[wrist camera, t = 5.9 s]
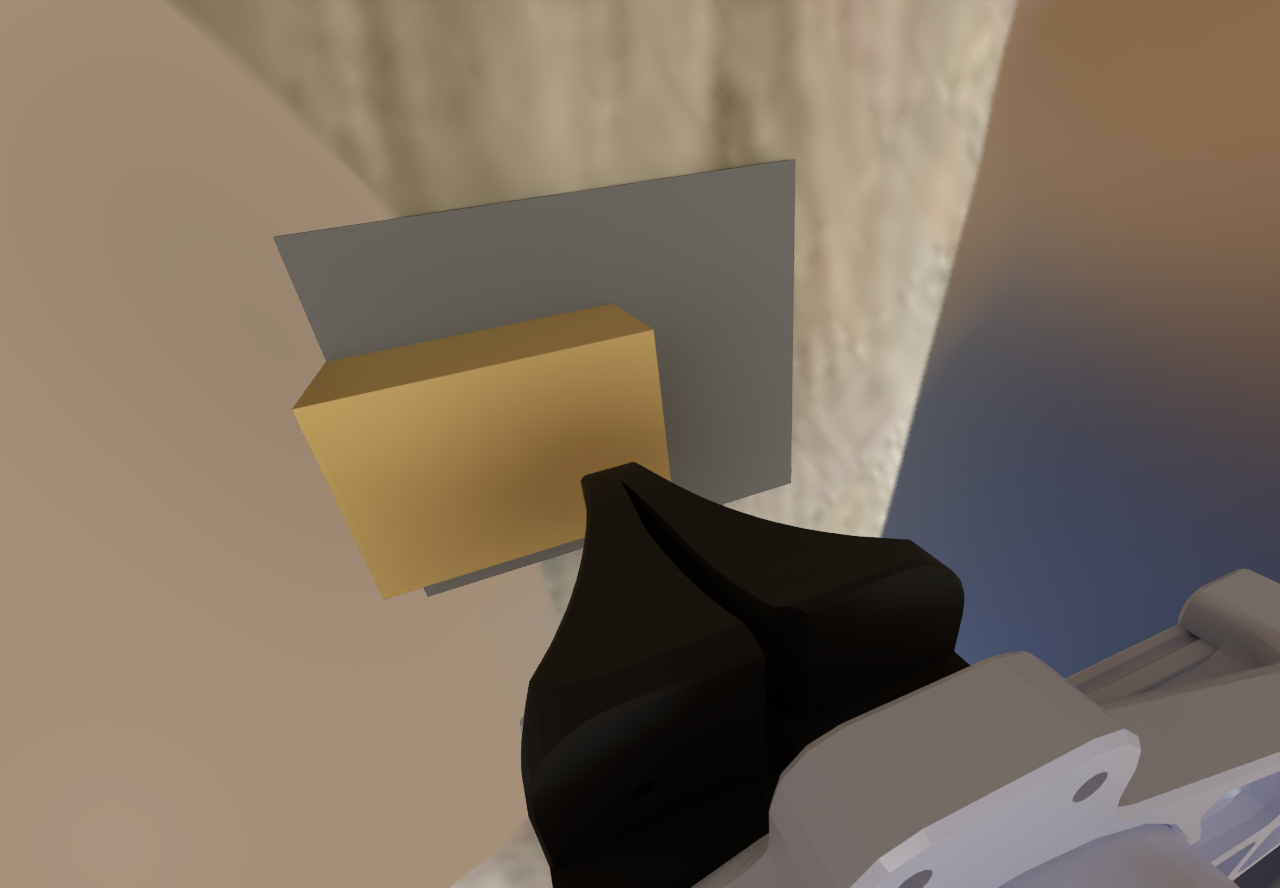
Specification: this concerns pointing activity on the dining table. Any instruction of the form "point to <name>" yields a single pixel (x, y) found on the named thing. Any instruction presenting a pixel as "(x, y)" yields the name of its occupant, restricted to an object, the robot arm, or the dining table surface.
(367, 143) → the dining table surface
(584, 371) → the ochre block
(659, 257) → the rubber mat
